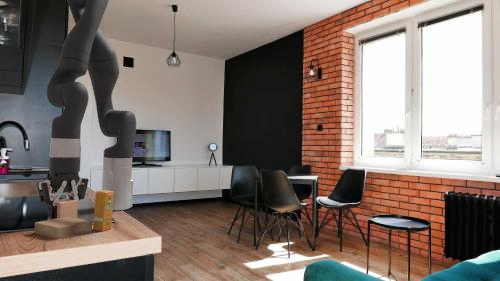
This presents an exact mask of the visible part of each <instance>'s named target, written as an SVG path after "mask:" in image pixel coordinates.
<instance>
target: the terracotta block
mask: <svg viewBox="0 0 500 281" xmlns="http://www.w3.org/2000/svg"><path fill="white" fill-rule="evenodd" d="M78 203H79V201H76V200H70V199H69V198H63V199H62V198H61V199H60V198H59V200H58V203H57V205H56V206H57V218H63V217H68V216H69V217H74V218H78V208H79V206H78V205H79V204H78ZM47 220H50V219H49V218H48V217H47Z"/></svg>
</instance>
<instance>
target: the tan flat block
mask: <svg viewBox="0 0 500 281" xmlns="http://www.w3.org/2000/svg"><path fill="white" fill-rule="evenodd" d="M92 231H93V220H89V219H84V218H79V217H77V218H74V217H69V216H68V217H63V218H57V219H52V220H48V219H47V220H40V221H37V222H34V234H36V235H40V236H42V237H43V236H44V237H48V238H52V239H56V240H60V239H65V238H69V237H73V236H77V235H82V234H86V233H90V232H91V233H92Z"/></svg>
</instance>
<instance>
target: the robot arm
mask: <svg viewBox="0 0 500 281" xmlns="http://www.w3.org/2000/svg"><path fill="white" fill-rule="evenodd" d="M66 1H67V3H68V7H69V9H70V12H71V15H72V18H73V21H74V24H75V25H74V26H73V27H72V29H71V30H70V31H69V32H68V34H67V35H66V37H65V39H64V42H63V45H62V48H61V53H60V57H59V58H60V59H59V62H58V66H57V67H56V69H55V70H54V72H53V74H52V76H51V78H50V80H49V82H48V84H47V88H46V97H47V101H48V102H49V104H50V105H51V106H53V107H55V108H59V109H60V108H64V109H63V111H62V113H61V115H59V116H56V117H54V118H53V119H52V120H51V131H50V132H51V135H50V145H49V154H48V155H49V157H48V158H49V159H48V172H49V177H48V179H47V180H44V181H38V182H37V183H36V187H37V188H36V189H37V192H38V197H39V202H40V204H42V205H47V219H48V218H49V219H50V220H52V219H57V206H56V205H57V203H58V200H60V198H62V195H63V194H66V196H67V197H68V199H70V200H76V201H78V202H79V201H81V200H84V199H85V196H86V192H87V189H88V185H89V178H87V177H85V178H84V177H81V176H80V174H79V173H80V172H81V159H82V158H81V155H82V154H81V152H82V145H81V144H82V143H81V130H82V128H81V127H82V123H83V120H84V117H85V114H86V110H87V107H88V105H89V99H90V98H89V93H88V92H89V91H88V89H87V87H86V86H85V85H84V83H81V82H80V81H76V80H77V79H78V78H81V77H83V76H85V75H86V74H87V72H88V75H89V80H90V83H91V87H92V91H93V95H94V100H95V107H96V114H97V122H98V126H99V129H100V132H101V133H102V134H103V135H104V136H105V137H107V138H118V139H117V142H116V143H115V144H114V145H112V146H109V147H106V148H105V149H104V150H103V157H102V178H101V181H102V182H101V191H103V190H108V191H113V192H114V198H113V210H112V211H124V210H128V209H130V208H133V192H134V180H133V178H132V174H133V173H132V171H133V169H132V168H133V153H134V150H135V146H136V145H135V141H136V134H137V118H136V115H135V113H134V112H133V111H130V110H115V109H114V105H113V100H112V98H113V97H112V96H113V91H114V89H115V87H116V84H117V81H118V79H119V74H120V66H119V62H118V57H117V53H116V50H115V48H114V47H113V45H112V43H111V42H110V40H108V38H107V37H106V36H105V35H104V33H103V32H102V31H101V29H100V25H101V22H102V20H103V18H104V14H105V12H106V10H107V7H108V4H109V1H110V0H66ZM49 189H50V190H49Z"/></svg>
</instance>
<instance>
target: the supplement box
mask: <svg viewBox="0 0 500 281" xmlns="http://www.w3.org/2000/svg"><path fill="white" fill-rule="evenodd" d="M113 198H114V192H113V191H108V190H103V191H102V190H97V191H96V192H95V200H94V201H95V202H94V212H93V221H92V231H96V232H97V231H98V232H105V231H108V230H111V229H112V221H113V220H112V219H113V211H114V210H113Z"/></svg>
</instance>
